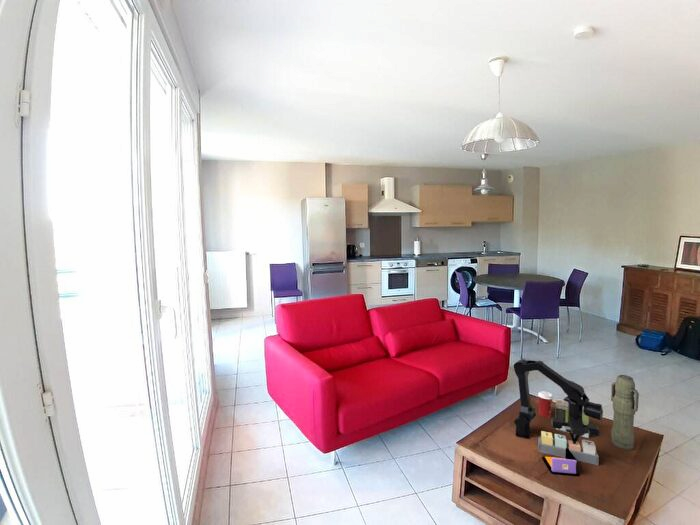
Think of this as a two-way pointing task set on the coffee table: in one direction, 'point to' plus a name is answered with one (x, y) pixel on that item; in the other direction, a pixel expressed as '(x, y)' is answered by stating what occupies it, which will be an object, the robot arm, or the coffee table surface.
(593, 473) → the coffee table surface
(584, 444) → the key
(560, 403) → the tea box
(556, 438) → the key with caret symbol
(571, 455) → the business card holder
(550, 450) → the keypad
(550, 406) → the paper cup
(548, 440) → the key
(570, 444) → the key with dash symbol
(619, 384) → the green thermos flask
